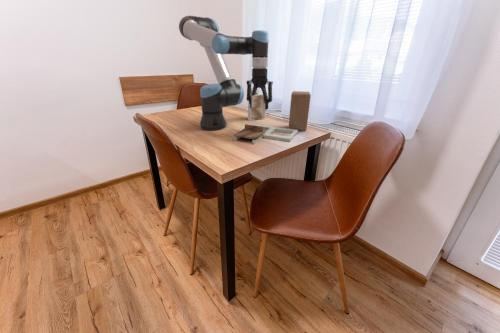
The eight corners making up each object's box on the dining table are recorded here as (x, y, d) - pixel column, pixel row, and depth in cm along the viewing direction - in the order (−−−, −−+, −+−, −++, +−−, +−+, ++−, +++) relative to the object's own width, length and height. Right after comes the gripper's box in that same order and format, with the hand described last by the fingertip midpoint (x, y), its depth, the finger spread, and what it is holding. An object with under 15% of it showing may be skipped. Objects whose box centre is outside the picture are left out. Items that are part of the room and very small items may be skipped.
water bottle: (254, 116, 151) (255, 78, 140) (261, 119, 145) (263, 79, 134) (244, 118, 148) (244, 78, 136) (251, 121, 141) (251, 79, 130)
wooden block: (306, 131, 122) (311, 94, 113) (288, 130, 124) (291, 93, 115) (305, 126, 131) (310, 91, 122) (289, 125, 132) (292, 90, 124)
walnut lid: (234, 136, 108) (233, 130, 107) (244, 129, 118) (244, 124, 117) (256, 139, 104) (256, 133, 103) (265, 132, 114) (265, 126, 112)
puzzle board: (231, 140, 109) (231, 137, 108) (252, 126, 130) (252, 124, 129) (284, 148, 99) (284, 145, 98) (297, 132, 120) (297, 129, 119)
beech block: (251, 119, 116) (251, 95, 111) (255, 116, 121) (256, 94, 116) (262, 120, 114) (262, 96, 109) (266, 117, 119) (266, 94, 114)
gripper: (238, 67, 107) (239, 114, 117) (275, 68, 100) (273, 118, 110) (245, 67, 113) (245, 112, 124) (280, 67, 106) (278, 115, 117)
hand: (258, 114), depth 117 cm, fingers closed on beech block, 6 cm apart
